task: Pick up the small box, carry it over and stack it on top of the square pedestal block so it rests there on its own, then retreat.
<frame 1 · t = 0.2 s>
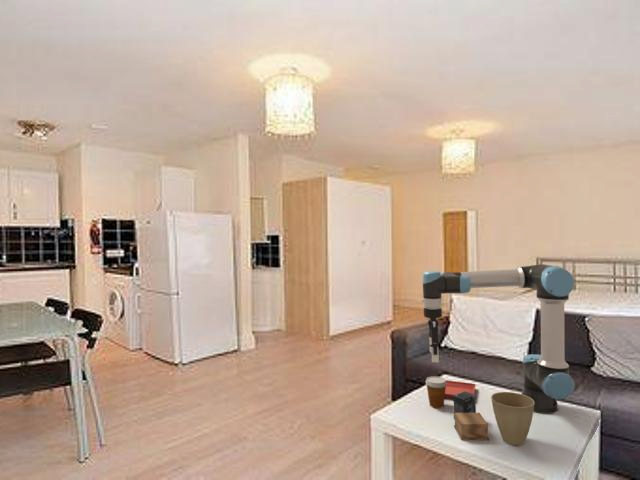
hand: (434, 357, 172), 27 cm above the table, fingers open, 13 cm apart
plant saucer: (455, 394, 199), on the table
box: (465, 419, 171), on the table
pedestal: (471, 433, 160), on the table
disposable coffee cup: (436, 405, 186), on the table
plant pot: (513, 441, 153), on the table
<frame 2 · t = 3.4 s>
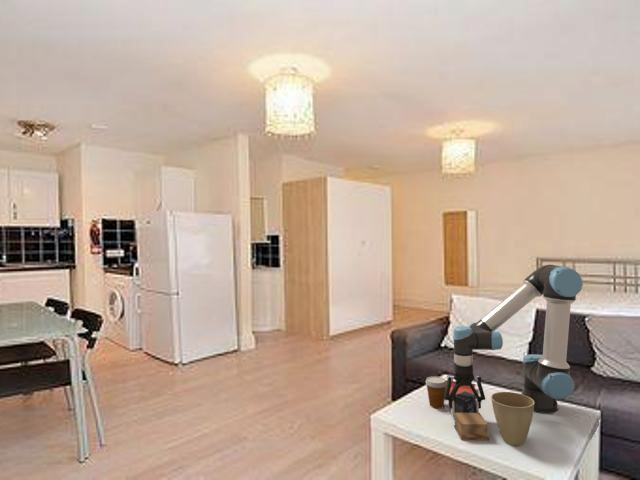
hand: (465, 415, 171), 2 cm above the table, fingers closed on box, 9 cm apart
box: (465, 419, 171), on the table, touching gripper
everything else where it was.
when the fingers open (9 cm above the table, at t = 8.7 s): box drops 1 cm, resting on pedestal.
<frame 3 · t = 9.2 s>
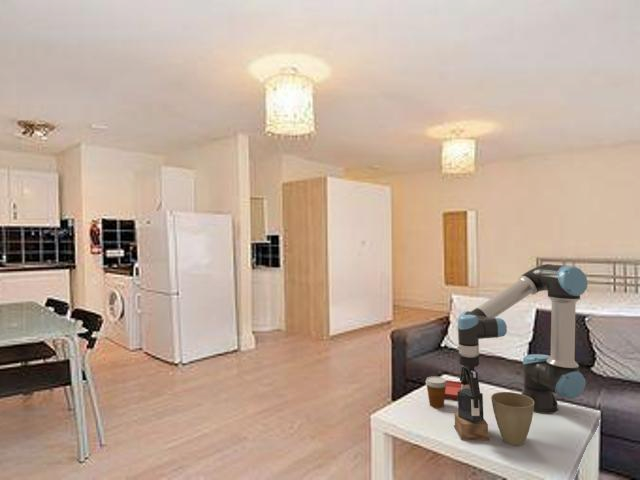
hand: (470, 407, 159), 10 cm above the table, fingers open, 13 cm apart
box: (470, 418, 159), point 6 cm above the table, touching pedestal
everything else where it was.
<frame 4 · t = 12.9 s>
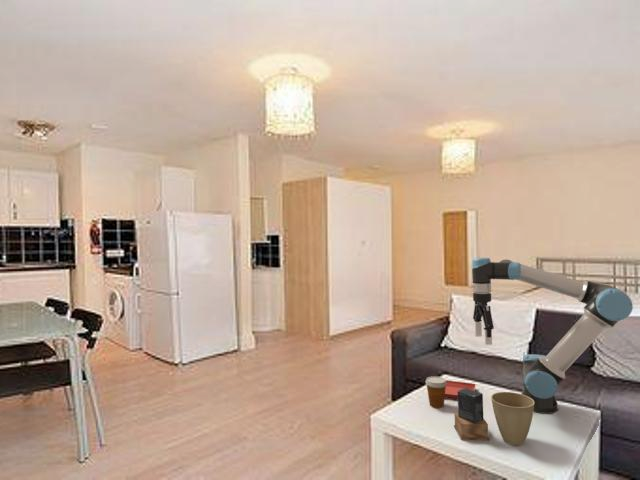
hand: (483, 340, 178), 32 cm above the table, fingers open, 13 cm apart
nothing on the table moved.
at the end: box 0.1 cm from the pedestal (horizontally); box point 5.8 cm above the table; box tilted 0° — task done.
